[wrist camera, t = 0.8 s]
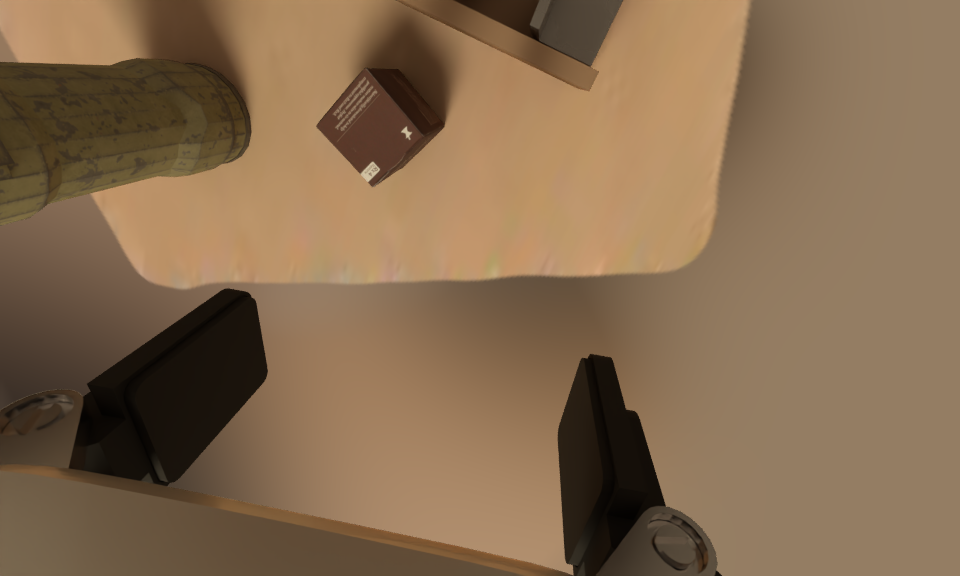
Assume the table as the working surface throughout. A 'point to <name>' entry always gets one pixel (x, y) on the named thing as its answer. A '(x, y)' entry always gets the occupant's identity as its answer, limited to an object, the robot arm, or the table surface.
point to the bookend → (574, 25)
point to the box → (380, 123)
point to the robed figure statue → (110, 128)
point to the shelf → (507, 34)
